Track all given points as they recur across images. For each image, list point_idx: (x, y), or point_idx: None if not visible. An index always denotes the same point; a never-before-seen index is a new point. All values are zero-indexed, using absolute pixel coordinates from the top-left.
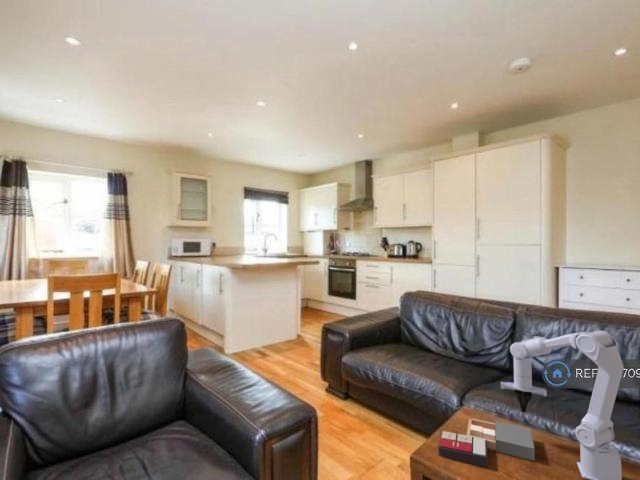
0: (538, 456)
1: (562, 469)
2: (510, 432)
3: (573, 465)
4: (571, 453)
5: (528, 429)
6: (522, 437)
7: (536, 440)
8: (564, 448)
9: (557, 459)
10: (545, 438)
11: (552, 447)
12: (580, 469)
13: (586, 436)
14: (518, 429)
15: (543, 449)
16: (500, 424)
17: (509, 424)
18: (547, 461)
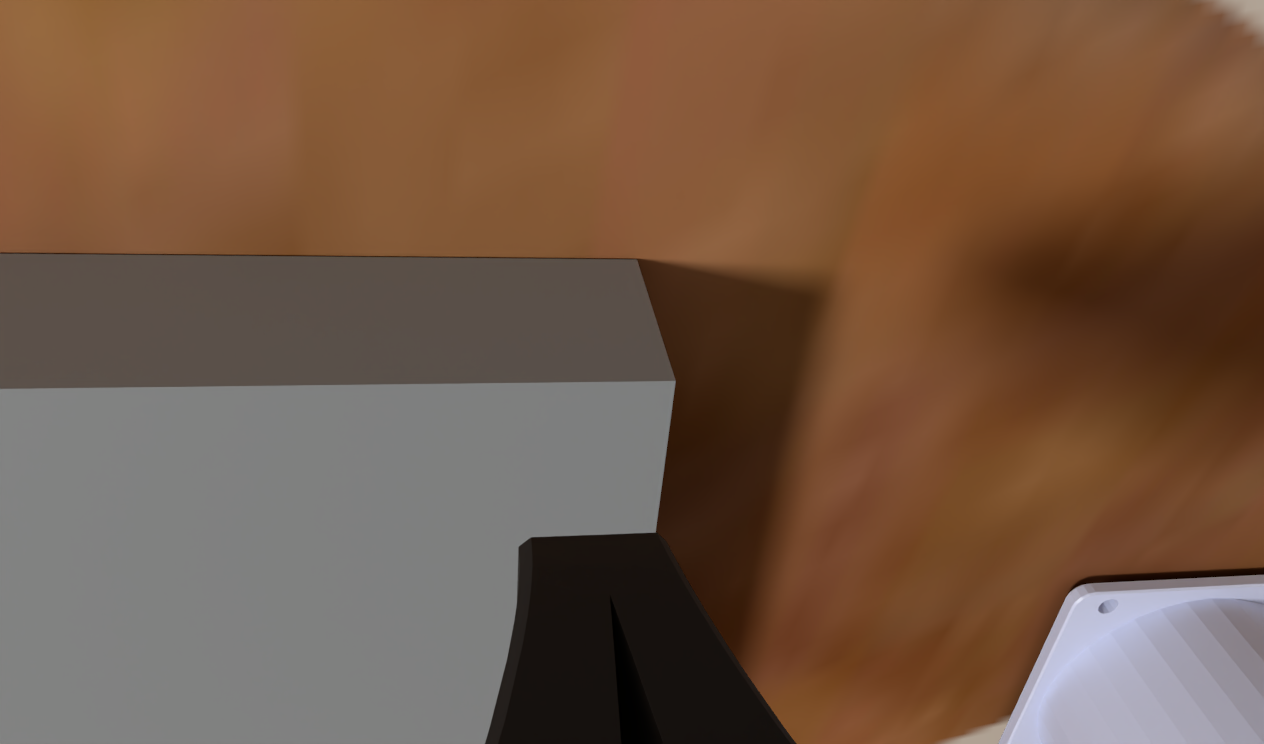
0: None
1: (848, 730)
2: (273, 685)
3: (1005, 625)
4: (1133, 396)
5: (627, 445)
6: (477, 733)
7: (737, 248)
8: (1106, 304)
9: (871, 597)
10: (931, 95)
11: (928, 355)
12: (1033, 706)
13: None
14: (421, 532)
15: (769, 464)
16: (21, 499)
17: (220, 418)
18: None
